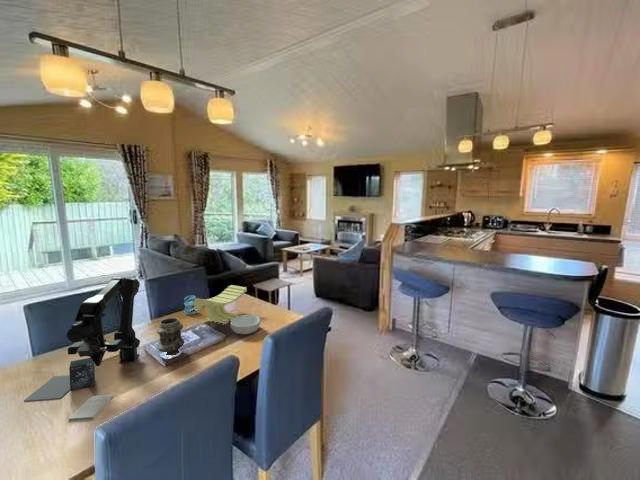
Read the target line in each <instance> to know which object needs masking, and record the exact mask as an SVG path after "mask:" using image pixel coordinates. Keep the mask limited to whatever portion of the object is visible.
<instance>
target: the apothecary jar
mask: <svg viewBox="0 0 640 480" xmlns="http://www.w3.org/2000/svg"><path fill="white" fill-rule="evenodd" d="M179 320H180V319H179V318H178V317H168V318H167V317H166V318H163V319H162V320H160V321H159V325H158V326H157V327H156V330H155V331H156V333H157V334H158V335H159V342H158V343H157V350H158V351H160V352H162V353H164V352H167V354H166V355H176V354H177V353H179V351H178V349H181V348H182V347H183V346H184V344H185V340H184V338H183V337H182V334H181V333H182V332H181V331H182V329H183V323H182V322H180V321H179Z"/></svg>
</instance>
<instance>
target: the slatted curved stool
mask: <svg viewBox="0 0 640 480" xmlns="http://www.w3.org/2000/svg"><path fill="white" fill-rule="evenodd" d="M246 292H248V289H247V286H240V285H234V284H231V285H228V286H227V287H226V288H224V290H223V291H221V293H220V294H217V295H216V296H214V297H211V298H206V299H205V298H199V297H196V299H195V300H194V299H193V301H194V308H193V309H196V310H197V311H201V310H202V309H205V310H206V316H207V319H208V321H209V322H212V321H214V322H213V323H216V322H219V323H218V324H220V323H223V324H222V325H224V324H225V325H227V324H229V323H230V322H229V321H231V320H232V319H233V318H235V317H238V316H239V315H238V314H235V313H232V312H229V311H227V310H226V309H225V306H227V305H229V304H233V302H236V301H239V298H242V296H243V295H245V293H246ZM228 322H229V323H228ZM226 323H227V324H226Z"/></svg>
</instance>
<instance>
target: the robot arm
mask: <svg viewBox="0 0 640 480" xmlns="http://www.w3.org/2000/svg"><path fill="white" fill-rule="evenodd" d="M140 285H141V284H140V281H139V279H137V278H126V277H122V276H121V277H118V276H117V277H112V278H111V279H110V281H109V282H108V283H107V284H106V285H105V286H104V287H103V288H102V289H101V290H100V291H99V292H98V293H97V294H96V295H94V296H91V297H89V298H87V299H85V300H84V301H83V302H81V304H80V305H79V309H78V311H77V314H76V316H75V319H74V322H75V323H73V324H71V325H70V326H71V328H70V329H68V330H67V332H66V337H67V338H66V339H68V341H70V342H71V343H73V344H71V345H70V346H69V347H68V348H67V355H76V354H78V356H79V357H80V358H83V357H89V358H91V359H92V360H93V361H94V365H95V366H96V367H100V366H101V364H102V361H103V358H104V355H105V353H106V352H108V353H116V352H119V353H118V354H119V361H118V362H119V363H134V362H135V360H136V359H137V358H138V357H140V353H139V354H138V348H139V346H140V343H141V340H140V339H139V338H137V337H136V332H135V329H134V328H133V318H134V305H135V304H134V303H135V296H136V295H137V293H138V292H139V291H140V290H139V289H140ZM117 292H118V293H119V295H120V296H121V309H120V318H119V319H120V320H119V329H118V330H117V332H114V334H113V336H114V337H113V339H112V340H111V341H110V342H107V338H105V332H106V329H104V325H103V317H105V316H106V313H104V311H105V310H106V308H107V303H108V301H109V300H111V298H112V297H114V295H115V294H116V293H117ZM82 340H83V341H82Z"/></svg>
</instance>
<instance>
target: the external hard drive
mask: <svg viewBox="0 0 640 480" xmlns="http://www.w3.org/2000/svg"><path fill="white" fill-rule="evenodd" d="M112 398H113V394H105V395H91V396H89V397H88V398H87V399H86V401H84V403H82V405H80V407H79V408H78V409H77V410H76V411H75V412H73V414H72V415H71V416H70V417H69V418H68V422H76V421H87V420H88V421H89V420H94V419H95V418H96V417H97V416H98V415H99V414H100V412H101V411H103V410H104V407H105V406H106V405H107V404H108V403H109V402H110V400H112Z"/></svg>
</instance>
